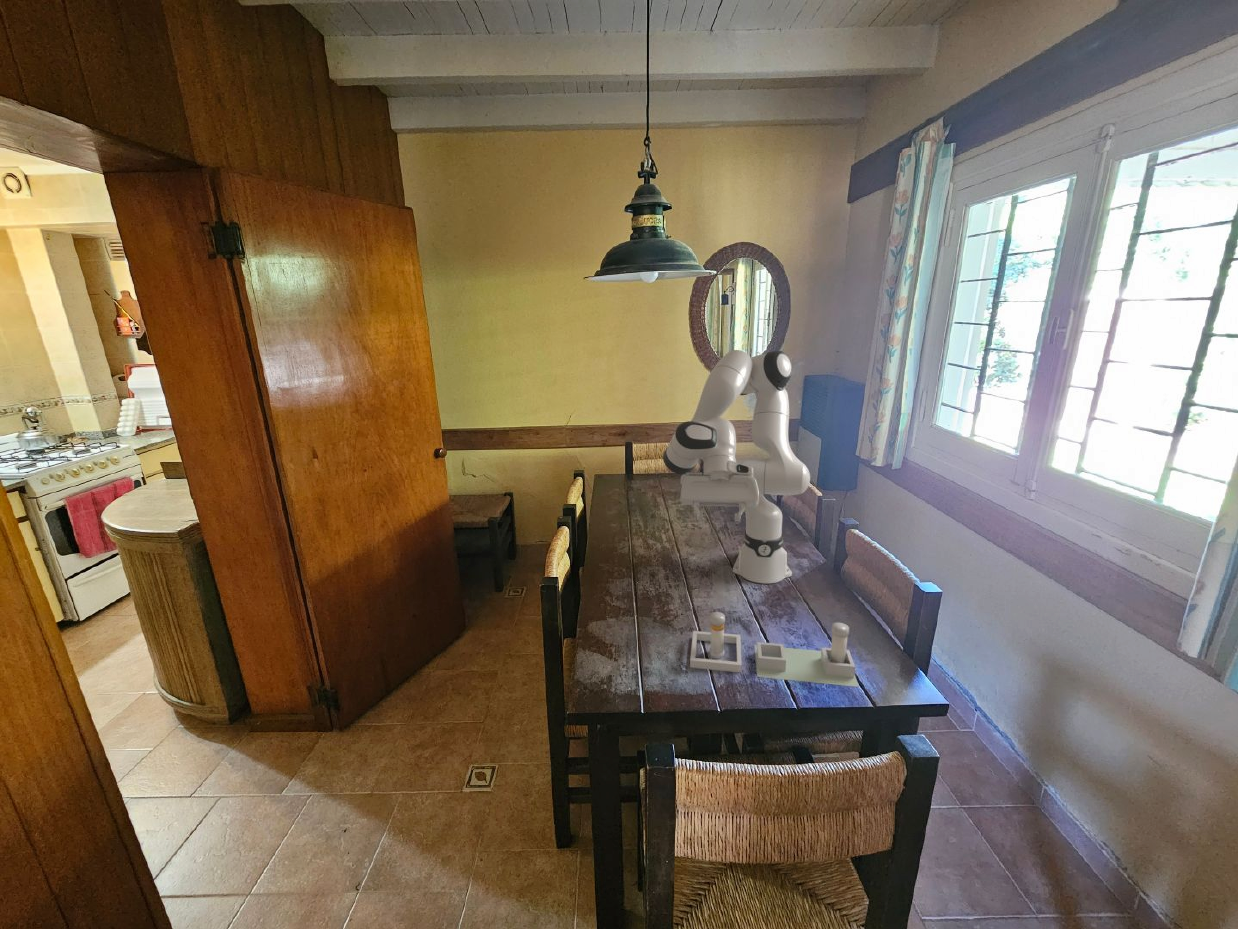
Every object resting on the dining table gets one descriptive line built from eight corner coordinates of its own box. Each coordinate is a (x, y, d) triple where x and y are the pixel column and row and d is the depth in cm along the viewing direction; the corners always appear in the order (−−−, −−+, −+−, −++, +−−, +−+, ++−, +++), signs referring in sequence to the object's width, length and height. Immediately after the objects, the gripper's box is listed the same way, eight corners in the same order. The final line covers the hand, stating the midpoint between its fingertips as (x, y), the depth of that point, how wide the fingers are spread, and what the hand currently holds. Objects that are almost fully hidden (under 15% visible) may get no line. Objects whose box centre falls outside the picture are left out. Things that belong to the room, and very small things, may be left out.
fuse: (827, 662, 121) (830, 622, 118) (843, 663, 120) (847, 623, 117) (830, 672, 118) (833, 631, 115) (846, 673, 117) (850, 632, 114)
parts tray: (693, 640, 133) (693, 630, 132) (740, 645, 130) (740, 634, 129) (690, 671, 121) (690, 660, 121) (741, 676, 119) (741, 665, 118)
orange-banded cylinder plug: (709, 649, 128) (710, 611, 125) (724, 651, 127) (725, 612, 124) (709, 658, 124) (709, 619, 121) (724, 660, 124) (725, 620, 120)
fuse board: (754, 648, 129) (754, 634, 128) (846, 656, 124) (848, 642, 123) (757, 680, 117) (757, 665, 116) (858, 690, 113) (860, 675, 112)
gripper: (680, 466, 136) (677, 513, 129) (759, 467, 132) (760, 516, 125) (681, 477, 141) (678, 523, 135) (757, 479, 137) (758, 526, 131)
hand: (718, 520), depth 130 cm, fingers open, 8 cm apart
